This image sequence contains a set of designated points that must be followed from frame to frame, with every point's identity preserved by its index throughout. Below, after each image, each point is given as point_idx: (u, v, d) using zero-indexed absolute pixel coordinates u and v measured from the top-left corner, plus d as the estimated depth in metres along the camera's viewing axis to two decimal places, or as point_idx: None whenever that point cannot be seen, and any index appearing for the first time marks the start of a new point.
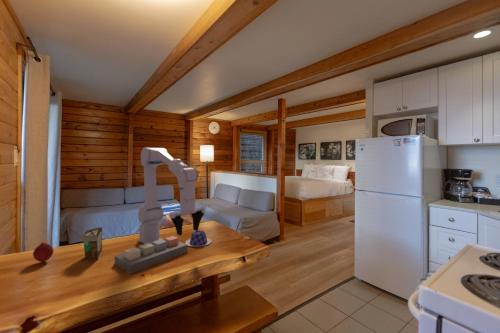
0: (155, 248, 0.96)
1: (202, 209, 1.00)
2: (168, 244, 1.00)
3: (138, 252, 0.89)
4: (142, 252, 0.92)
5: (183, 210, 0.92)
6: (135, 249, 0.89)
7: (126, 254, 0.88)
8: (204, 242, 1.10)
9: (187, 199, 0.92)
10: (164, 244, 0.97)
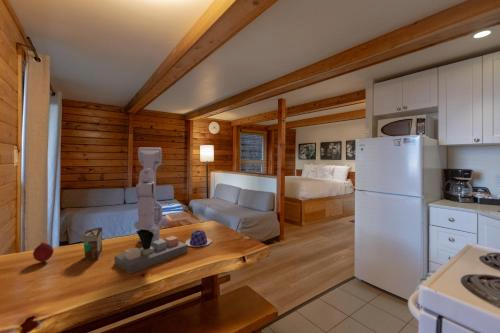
0: (155, 248, 0.96)
1: (153, 231, 0.88)
2: (168, 244, 1.00)
3: (138, 252, 0.89)
4: None
5: None
6: (135, 249, 0.89)
7: (126, 254, 0.88)
8: (204, 242, 1.10)
9: None
10: (164, 244, 0.97)
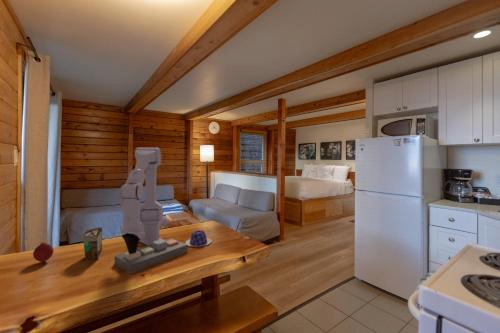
0: (155, 248, 0.96)
1: (138, 235, 0.84)
2: None
3: (138, 255, 0.89)
4: None
5: None
6: None
7: (126, 257, 0.88)
8: (203, 242, 1.10)
9: None
10: (164, 244, 0.97)
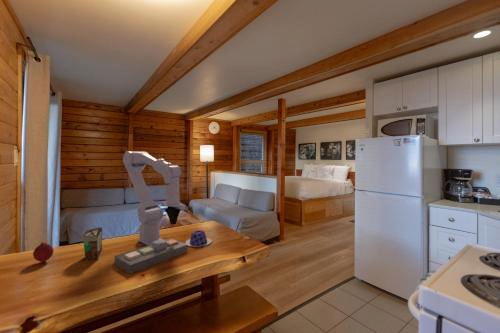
0: (155, 248, 0.96)
1: (180, 207, 1.00)
2: None
3: (138, 256, 0.89)
4: None
5: None
6: (135, 253, 0.89)
7: (126, 258, 0.88)
8: (202, 243, 1.09)
9: None
10: (164, 244, 0.97)
